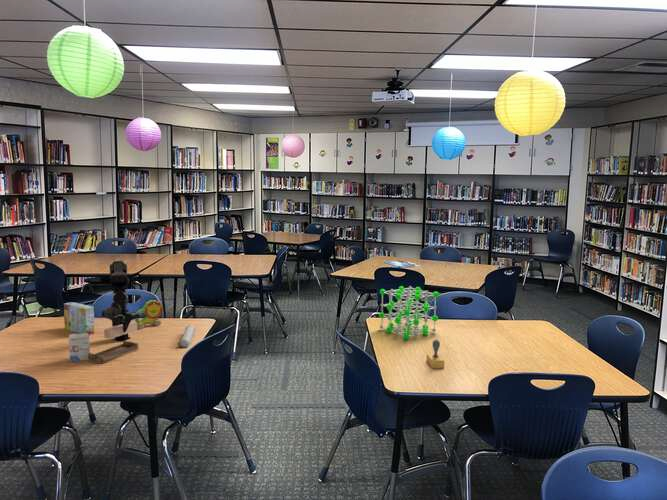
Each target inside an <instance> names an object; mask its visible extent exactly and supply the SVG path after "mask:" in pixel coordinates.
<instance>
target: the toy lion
mask: <svg viewBox="0 0 667 500" xmlns="http://www.w3.org/2000/svg"><path fill="white" fill-rule="evenodd" d="M137 312H138V313H139V316H140V315H141V314H143V313H144V315H145V317H143V318H142V319H141V320H140V318H137V319H134V322H137V329H138V330H143V329H144V328H145V326H146V325H153V326H155V327H160V326H161V324H162V321H161V320H160V319H159V317H160V316H161V315H162V313H163V312H164V306H163V304H162V303H161V302H160V301H158V300H155V299H154V300H152V299H150V300H148V301H146V302H145V304H144V305H143V306H142V308H140V309H139V310H138V311H137Z"/></svg>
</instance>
